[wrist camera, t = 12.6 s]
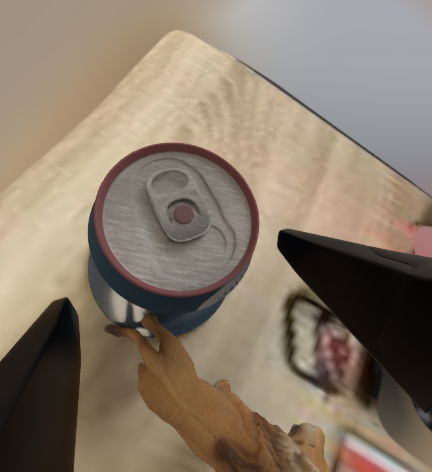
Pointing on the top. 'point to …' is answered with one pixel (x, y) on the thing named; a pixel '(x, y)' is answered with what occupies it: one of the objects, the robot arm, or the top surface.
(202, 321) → the coaster
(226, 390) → the lion figurine
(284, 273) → the top surface
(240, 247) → the soda can
